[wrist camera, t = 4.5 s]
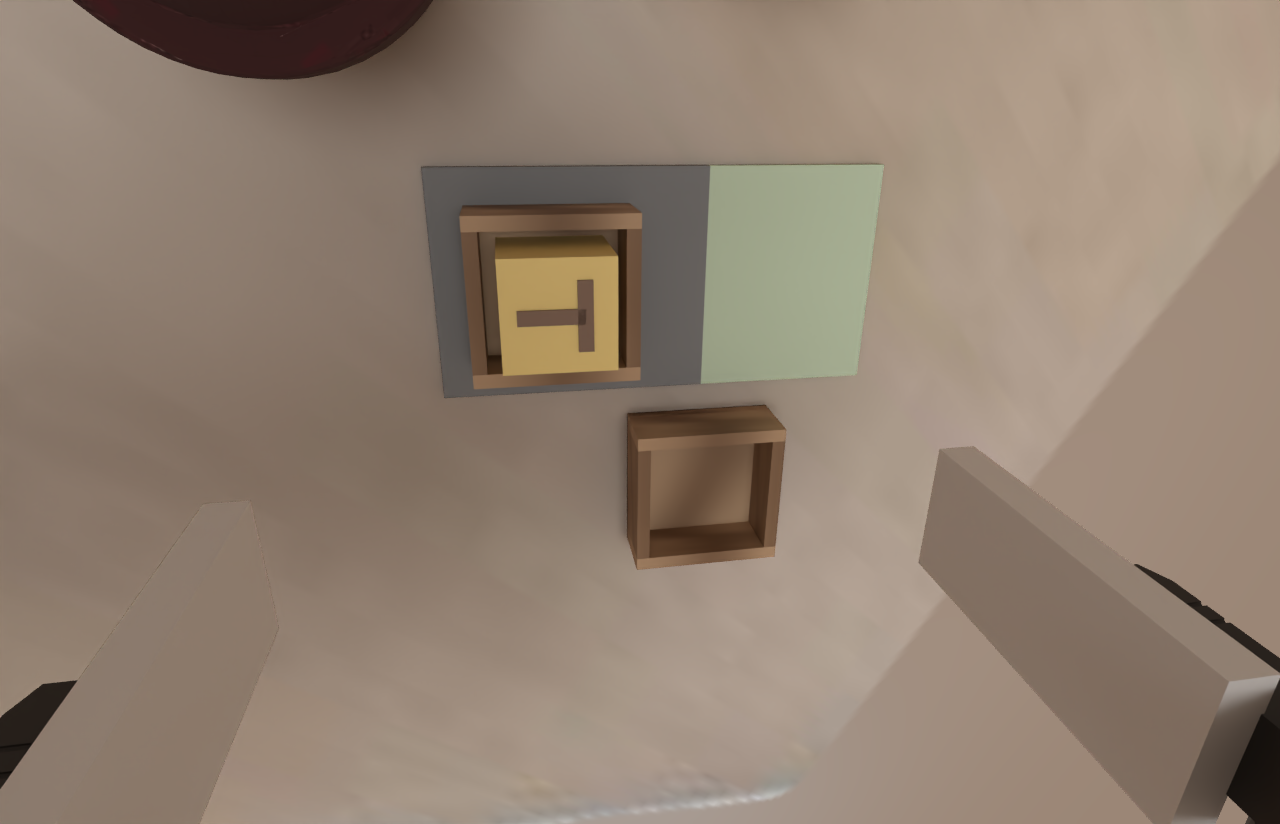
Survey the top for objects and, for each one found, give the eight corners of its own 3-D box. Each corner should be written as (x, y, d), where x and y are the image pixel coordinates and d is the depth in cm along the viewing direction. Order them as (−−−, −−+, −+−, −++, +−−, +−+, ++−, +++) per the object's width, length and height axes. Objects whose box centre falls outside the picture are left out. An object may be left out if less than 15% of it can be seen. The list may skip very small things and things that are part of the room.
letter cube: (502, 340, 33) (503, 377, 29) (495, 237, 31) (495, 259, 27) (603, 336, 34) (618, 370, 29) (602, 235, 32) (618, 256, 28)
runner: (445, 394, 34) (444, 398, 34) (422, 166, 30) (421, 167, 30) (853, 372, 38) (856, 375, 37) (879, 163, 34) (884, 164, 33)
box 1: (475, 365, 34) (473, 389, 31) (462, 205, 31) (459, 216, 28) (629, 357, 35) (640, 380, 32) (629, 202, 32) (642, 213, 29)
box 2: (627, 536, 39) (637, 569, 36) (627, 413, 36) (638, 439, 34) (755, 525, 40) (774, 556, 37) (765, 405, 37) (786, 429, 35)
